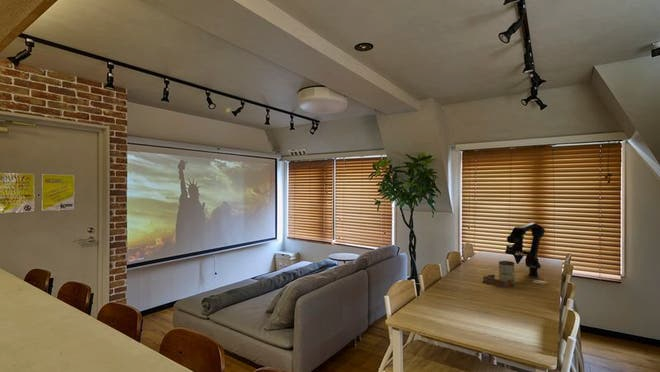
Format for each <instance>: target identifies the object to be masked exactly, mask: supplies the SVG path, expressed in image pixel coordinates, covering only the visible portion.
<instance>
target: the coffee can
mask: <svg viewBox="0 0 660 372" xmlns="http://www.w3.org/2000/svg"><path fill="white" fill-rule="evenodd" d="M498 274H499V275H498V276H499V277H498V278H499V279H498V280H502V281H505V280H510V279H514V283H515V280H516V277H515V275H516V274H515V262H514V261H508V260H499V261H498Z"/></svg>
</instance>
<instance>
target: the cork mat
mask: <svg viewBox="0 0 660 372" xmlns="http://www.w3.org/2000/svg"><path fill="white" fill-rule="evenodd" d="M531 283H532V284H535V285H540V286H541V285H542V286H547V285H548V284H549V282H547V281H545V280H538V279H534V280H532V281H531Z"/></svg>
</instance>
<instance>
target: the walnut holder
mask: <svg viewBox="0 0 660 372" xmlns="http://www.w3.org/2000/svg"><path fill="white" fill-rule="evenodd" d="M482 277H483V278H482V279H483V282H484V283H488V284H491V285H496V286H498V287H500V288H501V287H502V288H507V287H511V286H514V285H515V282H514V279H510V280H505V281H502V280H499V279H498V278H495V277H496V276H495V274H494V273H493V274H487V275H483V276H482Z"/></svg>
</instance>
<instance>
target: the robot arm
mask: <svg viewBox="0 0 660 372" xmlns="http://www.w3.org/2000/svg"><path fill="white" fill-rule="evenodd" d="M527 231H531V235H532V241H531V246H530V251H528V250H523V247H525V245H523V244H524V239H525V236H524V235H526V234H527ZM545 232H546V231H545V228H544V227H543V226H541V225H540V224H538V223H536V222H533V221H531V222H529V223H527V224H524V225H522V226H514V227H513V229H512V231H511V233H510V234H509V235H508V236H507V237H506V241H507V243H508V244H510V245H506V250H504V252H505V253H504V254H508V255H511V256H513V257H514V261H515V262H516V264H517V265H519V264H520V262H521V261H522V259H523V258H524V257H525V260H524V262H525V266H526V267H528V269H529V270H528V276H533V277H539V273H538V272H539V270H540V269H541V267H542V265H541V264H540V262H539V258H538V252H539V246H540V241H541V238H542V237H543V236H544V235H545ZM511 244H512V246H511Z"/></svg>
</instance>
